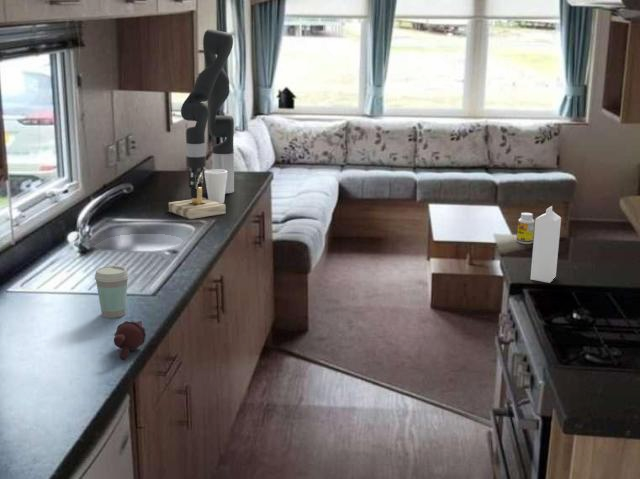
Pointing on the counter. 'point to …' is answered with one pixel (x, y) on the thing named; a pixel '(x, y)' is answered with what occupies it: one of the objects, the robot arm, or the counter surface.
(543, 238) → the milk
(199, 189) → the brass cylinder
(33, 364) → the counter surface
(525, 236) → the supplement bottle
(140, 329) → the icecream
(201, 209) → the plate
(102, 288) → the coffee cup
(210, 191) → the foam cup
